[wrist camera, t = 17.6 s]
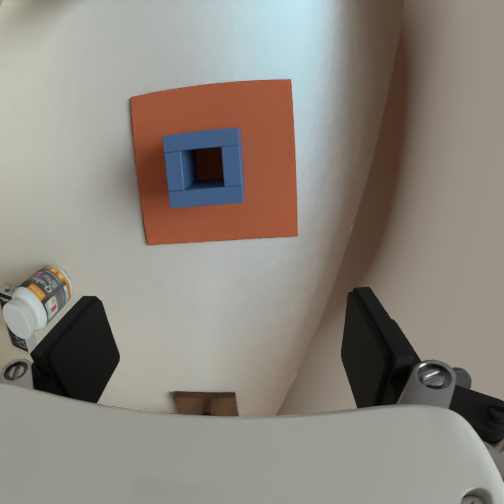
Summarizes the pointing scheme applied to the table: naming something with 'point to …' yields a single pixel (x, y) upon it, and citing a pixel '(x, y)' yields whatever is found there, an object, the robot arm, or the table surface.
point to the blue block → (185, 170)
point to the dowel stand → (206, 403)
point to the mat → (220, 160)
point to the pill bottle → (37, 301)
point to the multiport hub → (3, 296)
